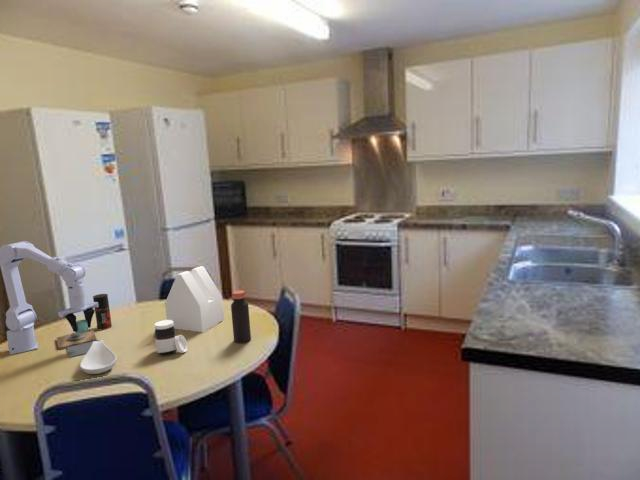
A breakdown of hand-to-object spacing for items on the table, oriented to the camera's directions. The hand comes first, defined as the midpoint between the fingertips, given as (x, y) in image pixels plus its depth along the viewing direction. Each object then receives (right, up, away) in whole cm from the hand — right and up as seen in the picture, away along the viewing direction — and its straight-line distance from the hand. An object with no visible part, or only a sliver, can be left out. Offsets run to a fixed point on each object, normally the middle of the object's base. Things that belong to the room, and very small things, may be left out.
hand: (82, 329), depth 178 cm
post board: (-8, -7, +11) cm, 16 cm away
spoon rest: (+14, -11, -14) cm, 22 cm away
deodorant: (-3, -5, +26) cm, 27 cm away
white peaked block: (+39, -3, +24) cm, 46 cm away
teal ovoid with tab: (0, -1, 0) cm, 1 cm away
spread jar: (+38, -8, -6) cm, 39 cm away
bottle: (+64, -5, +2) cm, 64 cm away
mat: (0, -8, +1) cm, 8 cm away
